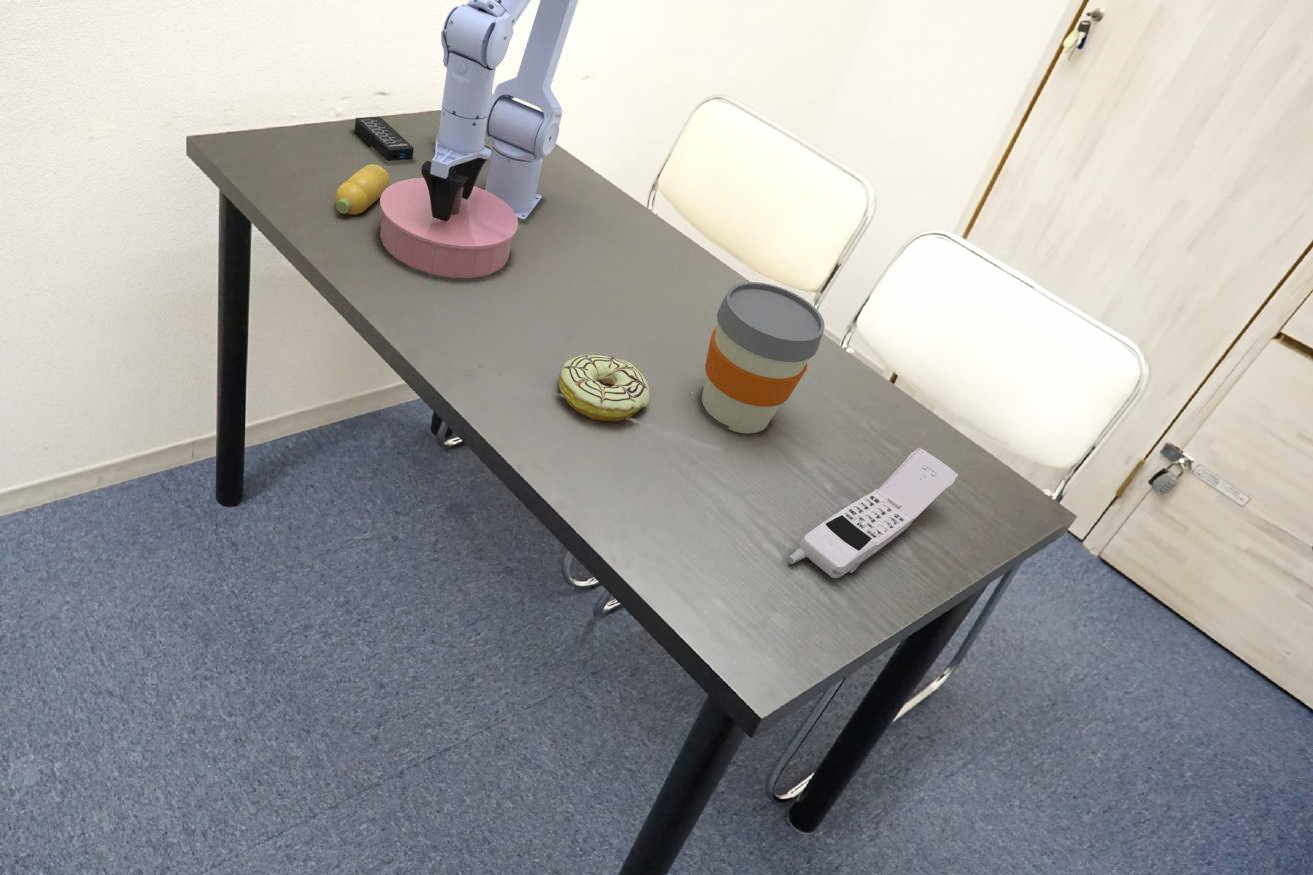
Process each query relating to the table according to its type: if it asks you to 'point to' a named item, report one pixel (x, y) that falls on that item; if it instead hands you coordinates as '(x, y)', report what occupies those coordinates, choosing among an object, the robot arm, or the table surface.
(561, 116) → the robot arm
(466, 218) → the lid
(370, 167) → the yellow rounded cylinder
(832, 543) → the mobile phone
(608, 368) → the decorated donut
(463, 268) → the pot
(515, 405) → the table surface
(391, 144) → the multiport hub
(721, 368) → the reusable coffee cup
